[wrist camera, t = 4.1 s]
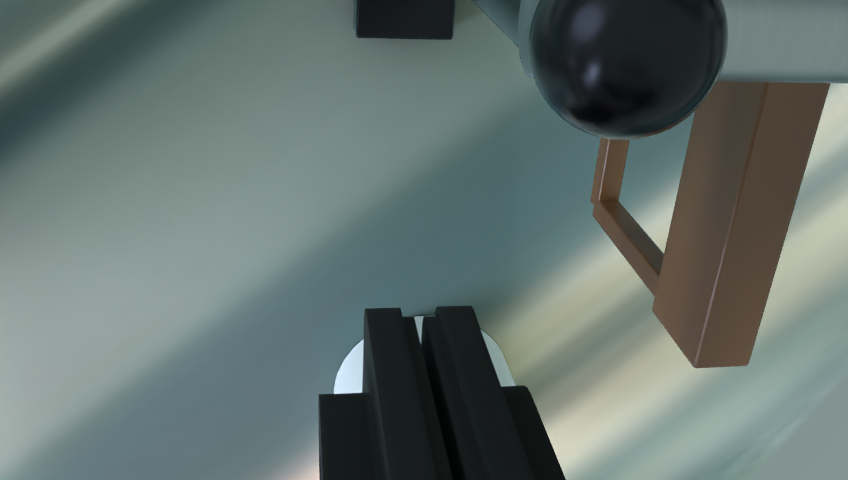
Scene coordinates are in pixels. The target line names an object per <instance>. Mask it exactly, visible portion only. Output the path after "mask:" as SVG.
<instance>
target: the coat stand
mask: <svg viewBox="0 0 848 480" xmlns="http://www.w3.org/2000/svg"><path fill="white" fill-rule="evenodd" d="M472 1H473V2H474V3H475V4H476V5H477V6H478V7H479V8H480V9H481V10H482V11H483V12H484V13H485V14H486V15H487V16H488V17H489V18H490V19H491V20H492V22H493V23H494V24H495V25H496V26H497V27H498V28H499V29H500V30H501V31H502V32H503V33H504V34H505V35H506V36H507V37H508V38H509V39H510V40H511V41H512V42H513V43H514V44H515V45H516V46H517V47H518V48H519V54H520V59H521V63H522V66H523V69H524V71H525V73H526V75H527V76H529V77H531V78H533V79H535V82H536V85H537V87H538V89H539V90H540V92H541V94H542V96H543V97H544V99H545V100H546V102H547V103H548V104H549V106H550V107H551V108H552V109H553V110H554V111H555V112H556V113H557V114H558V115H559V116H560V117H561V118H562V119H563V120H565V121H566V122H567V123H569V124H570V125H572V126H573V127H575V128H577V129H579V130H581V131H583V132H585V133H588V134H591V135H593V136H596V137H601V138H605V139H615V140H634V139H640V138H645V137H649V136H652V135H655V134H658V133H661V132H663V131H666V130H668V129H670V128H672V127H674V126H675V125H677V124H679V123H680V122H682V121H683V120H684V119H686V118H687V117H688V116H690V115H691V114H692V113H693V112H694V111H695V110H696V109H697V108H698V107H699V106H700V105H701V104H702V103H703V101H704V100H705V99H706V98H707V96H708V95H709V93H710V92H711V91H712V89H713V87H714V85H715V84H716V82H789V83H848V0H472ZM454 13H455V0H354V22H353V27H354V31H355V34H356V36H357V37H358V38H389V39H437V40H450V39H452V37H453V27H454Z"/></svg>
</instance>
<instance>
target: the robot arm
mask: <svg viewBox="0 0 848 480" xmlns="http://www.w3.org/2000/svg"><path fill="white" fill-rule="evenodd" d="M319 473H320V480H566V479H565V477H564V474H563V472H562V469H561V467H560V464H559V462H558V460H557V457H556V455H555V452H554V450H553V447H552V445H551V442H550V440H549V437H548V435H547V433H546V430H545V428H544V425H543V423H542V420H541V418H540V415H539V413H538V410H537V408H536V406H535V403H534V401H533V398H532V396H531V394H530V392H529V390H528V388H527V387H525V386H502V387H501V385H500V382H499V379H498V376H497V374H496V371H495V368H494V365H493V362H492V360H491V357H490V354H489V351H488V349H487V346H486V343H485V340H484V338H483V335H482V332H481V329H480V326H479V324H478V321H477V318H476V315H475V313H474V310H473V308H472V306H446V307H437V308H436V310H435V315H434V316H424V317H423V321H422V334H421V343H420V339H419V335H418V331H417V327H416V322H415V319H414V317H402V313H401V309H400V308H375V309H365V314H364V343H363V382H362V393H342V394H319Z"/></svg>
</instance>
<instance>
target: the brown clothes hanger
mask: <svg viewBox="0 0 848 480" xmlns="http://www.w3.org/2000/svg"><path fill="white" fill-rule="evenodd" d="M829 86H830V83H789V82H716V84H715V85H714V87H713V89H712V91H711V92H710V93H709V95H708V96H707V98H706V99H705V100H704V101H703V103H702V104H701V105H700V106H699V107H698V108H697V109H696V110H695V115H694V119H693V124H692V129H691V133H690V138H689V142H688V147H687V152H686V156H685V161H684V165H683V170H682V175H681V179H680V184H679V188H678V193H677V197H676V202H675V207H674V211H673V216H672V220H671V225H670V230H669V234H668V239H667V243H666V248H665V253H664V254H663V252H662V251H661V250H660V249H659V248H658V247H657V245H656V244H655V243H654V242H653V241H652V240H651V238H650V237H649V236H648V235H647V234H646V233H645V231H644V230H643V229H642V228H641V227H640V226H639V224H638V223H637V222H636V221H635V220H634V219H633V217H632V216H631V215H630V214H629V213H628V212H627V210H626V209H625V208H624V207H623V206H622V205H621V203H620V202H619V201H618V200H619V195H620V189H621V184H622V178H623V173H624V167H625V162H626V156H627V151H628V145H629V140H615V139H605V138H601V140H600V146H599V152H598V158H597V164H596V170H595V176H594V182H593V188H592V194H591V202H592V204H593V205H594V210H593V217H594V218H595V219H596V221H597V222H598V223H599V224H600V226H601V227H602V228H603V230H604V231H605V232H606V234H607V235H608V236H609V238H610V239H611V240H612V242H613V243H614V244H615V245H616V247H617V248H618V249H619V251H620V252H621V253H622V255H623V256H624V257H625V259H626V260H627V261H628V263H629V264H630V265H631V266H632V268H633V269H634V270H635V272H636V273H637V274H638V276H639V277H640V278H641V280H642V281H643V282H644V284H645V285H646V286H647V288H648V289H649V290H650V291H651V293H652V294H653V295H654V297H655V299H654V303H653V308H652V310H653V313H654V314H655V315H656V317H657V318H658V319H659V321H660V322H661V323H662V325H663V326H664V328H665V329H666V330H667V332H668V333H669V334H670V336H671V337H672V338H673V340H674V341H675V343H676V344H677V345H678V347H679V348H680V349H681V351H682V352H683V353H684V355H685V356H686V358H687V359H688V360H689V362H690V363H691V364H692V366H693V367H695V368H710V367H731V366H746V365H748V363H749V360H750V357H751V353H752V350H753V346H754V343H755V340H756V336H757V333H758V329H759V326H760V322H761V319H762V316H763V312H764V309H765V305H766V302H767V298H768V295H769V292H770V288H771V285H772V281H773V278H774V275H775V271H776V268H777V264H778V261H779V257H780V254H781V251H782V247H783V244H784V240H785V237H786V233H787V230H788V227H789V223H790V220H791V216H792V213H793V210H794V206H795V203H796V199H797V196H798V192H799V189H800V186H801V182H802V179H803V175H804V172H805V169H806V165H807V162H808V158H809V155H810V151H811V148H812V145H813V141H814V138H815V134H816V131H817V127H818V124H819V121H820V117H821V114H822V110H823V107H824V104H825V100H826V97H827V93H828V90H829Z"/></svg>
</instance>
